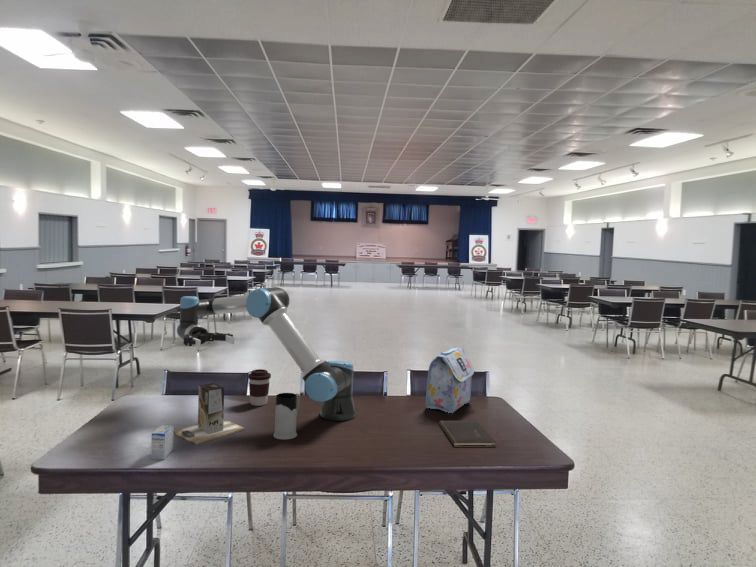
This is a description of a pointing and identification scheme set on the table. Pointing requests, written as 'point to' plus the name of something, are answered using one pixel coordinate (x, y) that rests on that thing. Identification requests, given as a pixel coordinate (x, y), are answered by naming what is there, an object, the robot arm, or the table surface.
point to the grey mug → (286, 415)
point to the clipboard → (200, 436)
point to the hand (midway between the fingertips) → (216, 342)
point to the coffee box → (211, 408)
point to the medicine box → (162, 442)
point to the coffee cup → (259, 386)
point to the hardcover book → (466, 433)
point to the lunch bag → (449, 381)
